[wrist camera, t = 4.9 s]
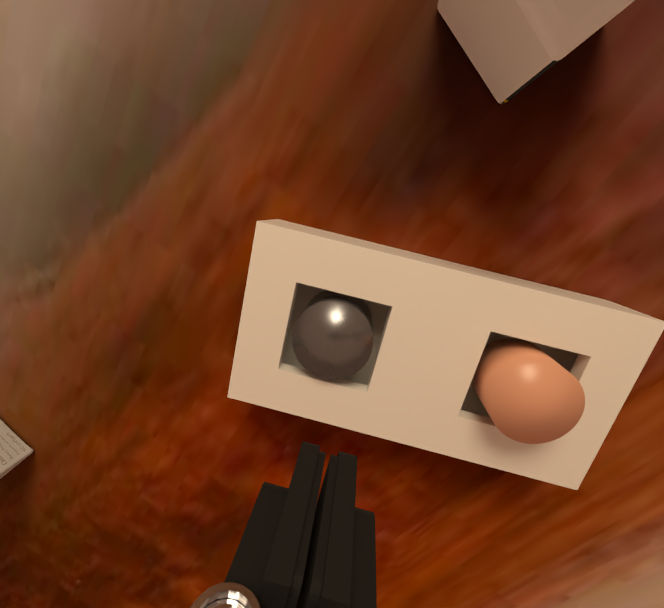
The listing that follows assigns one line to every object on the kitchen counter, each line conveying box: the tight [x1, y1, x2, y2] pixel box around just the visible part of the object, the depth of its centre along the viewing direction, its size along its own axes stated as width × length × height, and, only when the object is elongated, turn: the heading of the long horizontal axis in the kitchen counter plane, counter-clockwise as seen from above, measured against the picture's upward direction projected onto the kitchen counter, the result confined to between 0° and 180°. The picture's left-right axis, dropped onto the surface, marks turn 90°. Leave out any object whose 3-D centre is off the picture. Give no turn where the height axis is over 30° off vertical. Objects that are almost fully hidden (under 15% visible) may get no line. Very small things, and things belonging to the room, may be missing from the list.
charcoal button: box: [292, 290, 373, 379], centre depth 23 cm, size 5×5×4 cm
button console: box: [228, 219, 664, 490], centre depth 24 cm, size 24×12×5 cm, turn 77°
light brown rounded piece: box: [471, 338, 585, 444], centre depth 21 cm, size 5×5×4 cm
